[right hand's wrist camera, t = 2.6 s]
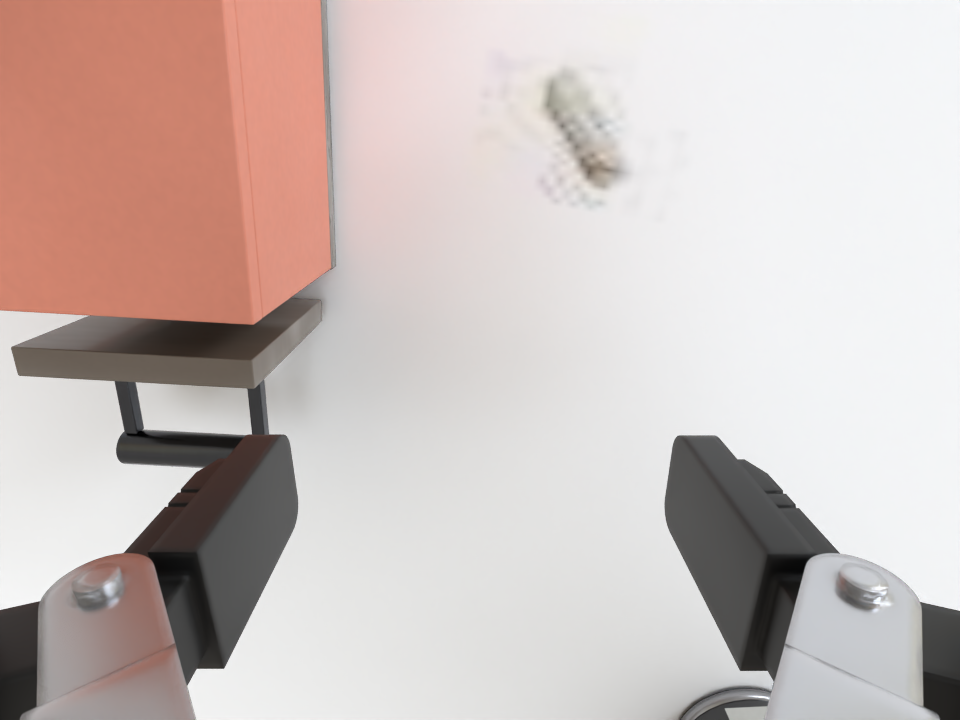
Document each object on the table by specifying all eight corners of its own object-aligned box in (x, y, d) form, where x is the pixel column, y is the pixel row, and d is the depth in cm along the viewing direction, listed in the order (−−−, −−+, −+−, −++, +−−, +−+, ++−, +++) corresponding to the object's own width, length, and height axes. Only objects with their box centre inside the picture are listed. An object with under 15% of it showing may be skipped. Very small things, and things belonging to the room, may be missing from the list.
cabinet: (335, 266, 29) (254, 325, 19) (146, 254, 29) (-43, 308, 19) (320, -149, 23) (185, -406, 12) (78, -166, 23) (-263, -441, 12)
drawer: (326, 417, 31) (267, 516, 23) (172, 409, 31) (52, 505, 23) (305, -45, 24) (200, -165, 15) (97, -59, 23) (-134, -189, 15)
